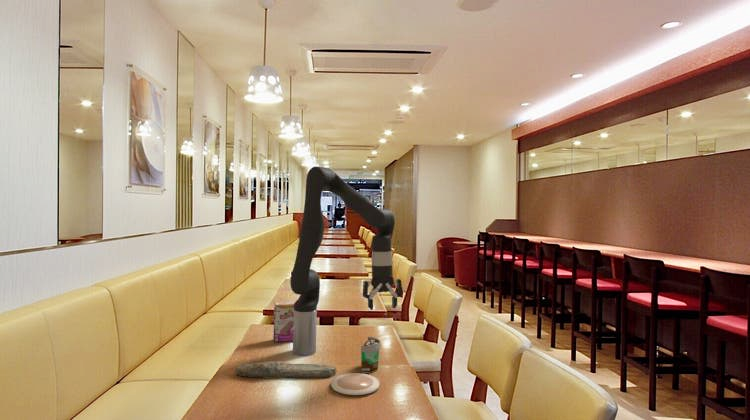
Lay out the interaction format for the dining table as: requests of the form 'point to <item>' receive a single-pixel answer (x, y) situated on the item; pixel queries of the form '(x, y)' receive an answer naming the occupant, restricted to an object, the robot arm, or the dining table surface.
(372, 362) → the food container
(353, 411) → the dining table surface
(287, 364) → the elongated rock
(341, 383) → the dish
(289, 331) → the candy bar box
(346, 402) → the dining table surface
